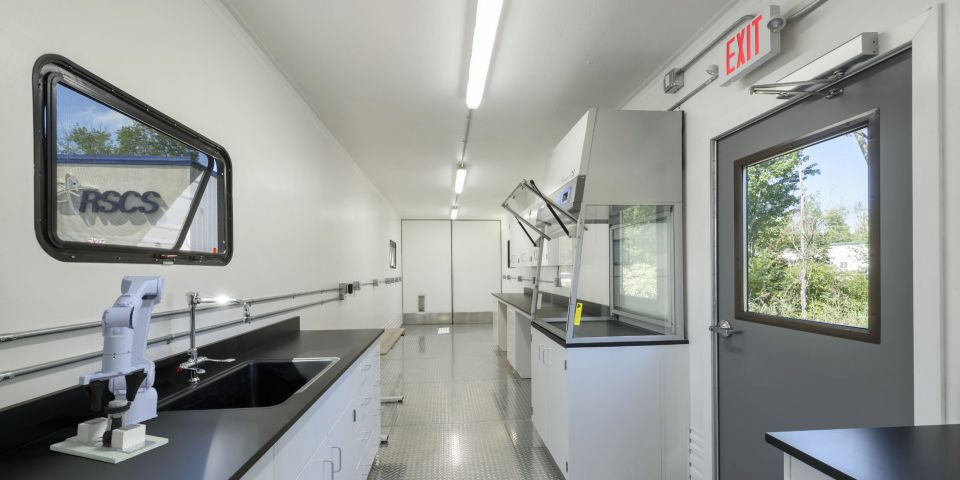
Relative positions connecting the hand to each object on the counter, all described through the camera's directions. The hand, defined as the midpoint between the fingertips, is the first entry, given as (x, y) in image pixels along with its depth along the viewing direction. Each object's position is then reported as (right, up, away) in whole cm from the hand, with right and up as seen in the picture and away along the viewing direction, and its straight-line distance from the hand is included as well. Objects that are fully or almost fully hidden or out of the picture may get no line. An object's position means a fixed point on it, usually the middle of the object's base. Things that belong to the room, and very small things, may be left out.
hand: (113, 405), depth 103 cm
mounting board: (0, -10, -1) cm, 10 cm away
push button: (+1, -9, -1) cm, 9 cm away
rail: (0, -10, -1) cm, 10 cm away
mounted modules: (0, -9, -1) cm, 9 cm away
